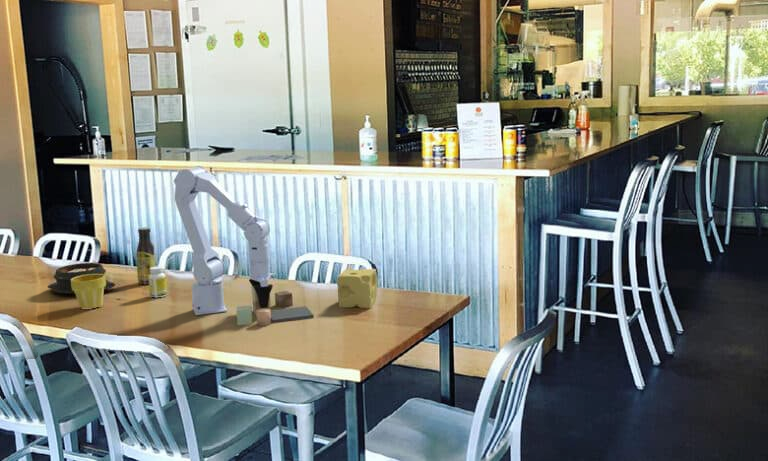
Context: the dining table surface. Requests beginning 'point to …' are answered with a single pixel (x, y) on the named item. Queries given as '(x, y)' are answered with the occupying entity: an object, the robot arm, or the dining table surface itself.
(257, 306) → the oak block
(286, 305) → the walnut block
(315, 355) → the dining table surface
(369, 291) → the cheese
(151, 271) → the supplement bottle
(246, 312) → the sage block
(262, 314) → the brown block
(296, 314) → the bar mat
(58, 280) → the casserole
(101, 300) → the plant pot
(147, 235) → the sauce bottle
